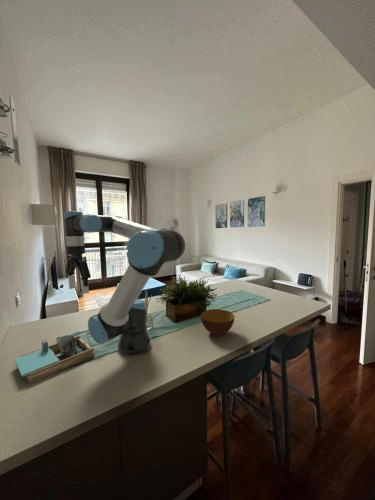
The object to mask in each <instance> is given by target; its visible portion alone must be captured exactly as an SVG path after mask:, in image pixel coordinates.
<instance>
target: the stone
mask: <svg viewBox="0 0 375 500" xmlns="http://www.w3.org/2000/svg"><path fill="white" fill-rule="evenodd" d="M74 337H75V336H74V335H68V334H67V335H63V336H61V337H59V338H57V343H58V346H59V349H60V351H59V352H60V354H61V355H62V356H65V357H68V358H69V357H71V356H74V355H76V354H78V344H76V342H75V339H74Z"/></svg>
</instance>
